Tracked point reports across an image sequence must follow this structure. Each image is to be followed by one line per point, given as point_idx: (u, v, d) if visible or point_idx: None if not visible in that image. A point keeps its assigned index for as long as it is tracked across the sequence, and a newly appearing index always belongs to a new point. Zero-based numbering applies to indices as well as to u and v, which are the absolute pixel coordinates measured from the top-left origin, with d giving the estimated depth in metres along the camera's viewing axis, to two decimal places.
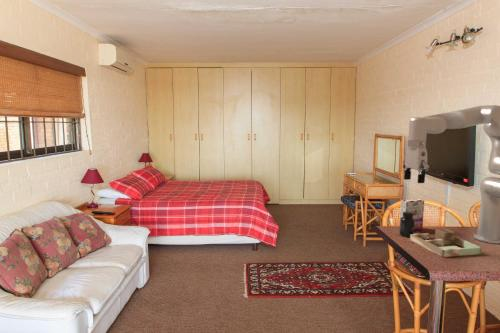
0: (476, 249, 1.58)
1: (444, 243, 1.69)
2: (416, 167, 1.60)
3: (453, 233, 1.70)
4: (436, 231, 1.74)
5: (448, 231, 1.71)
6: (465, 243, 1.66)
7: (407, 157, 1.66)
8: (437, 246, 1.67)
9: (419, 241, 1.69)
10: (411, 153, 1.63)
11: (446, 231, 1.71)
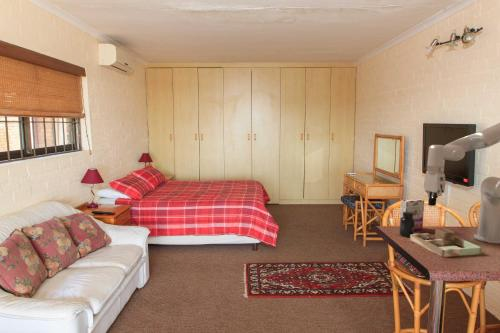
0: (476, 249, 1.58)
1: (444, 243, 1.69)
2: (435, 191, 1.75)
3: (453, 233, 1.70)
4: (436, 231, 1.74)
5: (448, 231, 1.71)
6: (465, 243, 1.66)
7: (426, 181, 1.81)
8: (437, 246, 1.67)
9: (419, 241, 1.69)
10: (430, 177, 1.78)
11: (446, 231, 1.71)
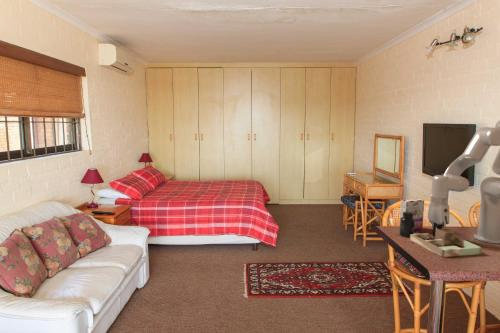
0: (476, 249, 1.58)
1: (444, 243, 1.69)
2: (439, 222, 1.73)
3: (453, 233, 1.69)
4: (436, 231, 1.73)
5: (448, 231, 1.71)
6: (465, 243, 1.66)
7: (430, 211, 1.79)
8: (437, 246, 1.67)
9: (419, 241, 1.69)
10: (434, 208, 1.75)
11: (446, 231, 1.71)
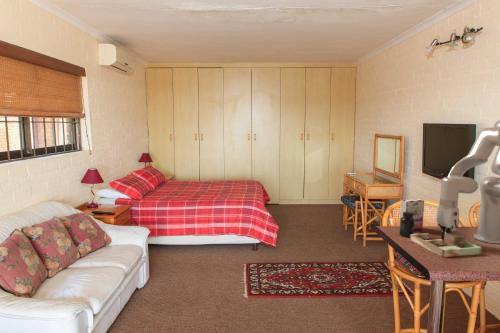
0: (476, 249, 1.58)
1: None
2: (448, 226, 1.67)
3: (463, 237, 1.63)
4: (445, 235, 1.67)
5: (458, 235, 1.65)
6: (465, 243, 1.66)
7: (439, 214, 1.73)
8: (437, 246, 1.67)
9: (419, 241, 1.69)
10: (443, 211, 1.69)
11: (455, 235, 1.64)
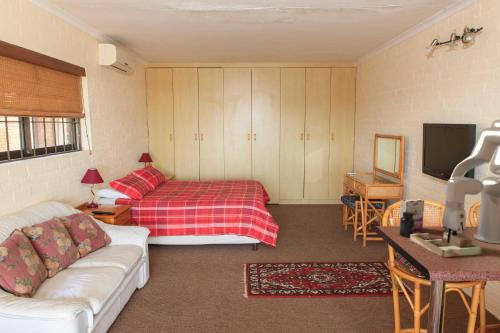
0: (476, 249, 1.58)
1: None
2: (454, 228, 1.63)
3: (469, 240, 1.60)
4: (451, 238, 1.64)
5: (464, 238, 1.61)
6: None
7: (444, 216, 1.69)
8: (437, 246, 1.67)
9: (419, 241, 1.69)
10: (449, 214, 1.66)
11: (462, 238, 1.61)
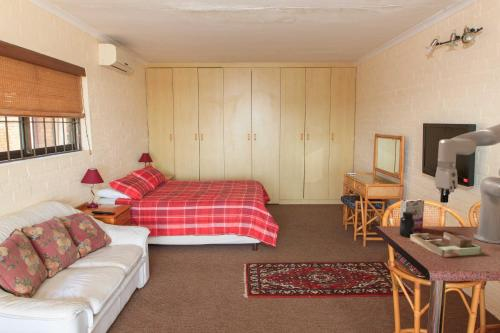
0: (476, 249, 1.58)
1: None
2: (447, 187, 1.68)
3: (469, 240, 1.60)
4: (451, 238, 1.64)
5: (464, 238, 1.61)
6: None
7: (437, 177, 1.74)
8: (437, 246, 1.67)
9: (419, 241, 1.69)
10: (441, 173, 1.71)
11: (462, 238, 1.61)
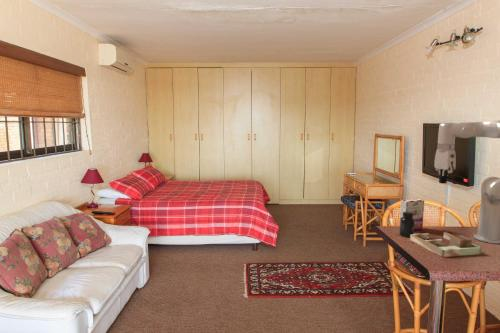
0: (476, 249, 1.58)
1: None
2: (445, 168, 1.77)
3: (469, 240, 1.60)
4: (451, 238, 1.64)
5: (464, 238, 1.61)
6: None
7: (436, 159, 1.83)
8: (437, 246, 1.67)
9: (419, 241, 1.69)
10: (441, 155, 1.80)
11: (462, 238, 1.61)
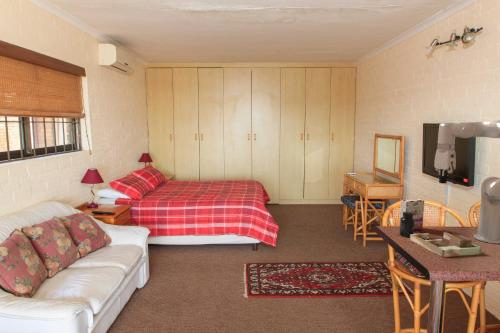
0: (476, 249, 1.58)
1: None
2: (445, 168, 1.77)
3: (469, 240, 1.60)
4: (451, 238, 1.64)
5: (464, 238, 1.61)
6: None
7: (436, 159, 1.83)
8: (437, 246, 1.67)
9: (419, 241, 1.69)
10: (441, 155, 1.80)
11: (462, 238, 1.61)
